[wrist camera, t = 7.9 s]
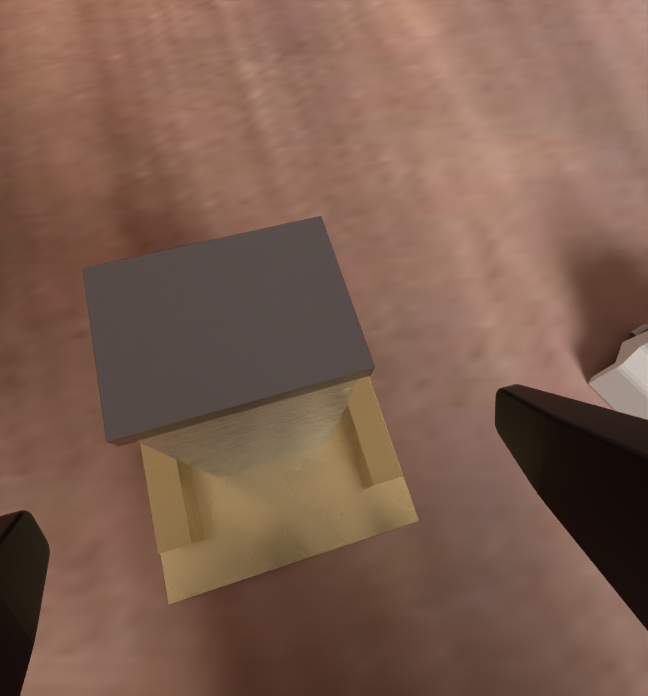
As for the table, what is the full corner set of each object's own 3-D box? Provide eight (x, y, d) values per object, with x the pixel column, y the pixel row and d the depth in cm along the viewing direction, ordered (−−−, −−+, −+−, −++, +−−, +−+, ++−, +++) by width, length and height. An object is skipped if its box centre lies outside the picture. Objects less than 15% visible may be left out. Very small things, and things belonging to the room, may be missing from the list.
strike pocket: (416, 520, 19) (435, 521, 17) (171, 602, 18) (149, 617, 15) (335, 284, 23) (340, 255, 21) (127, 334, 22) (103, 310, 19)
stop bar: (333, 446, 20) (374, 367, 9) (215, 482, 19) (106, 441, 8) (309, 368, 21) (320, 216, 10) (197, 399, 20) (82, 268, 9)
